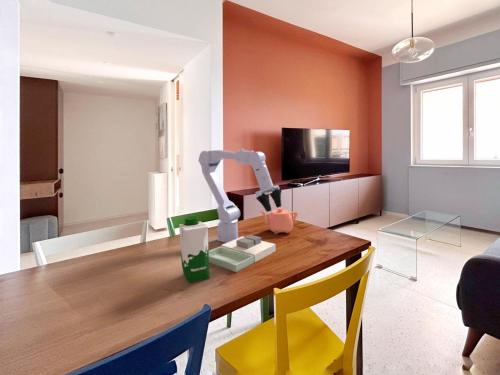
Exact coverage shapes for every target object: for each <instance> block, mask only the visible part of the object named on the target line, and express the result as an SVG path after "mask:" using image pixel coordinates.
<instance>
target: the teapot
mask: <svg viewBox="0 0 500 375" xmlns="http://www.w3.org/2000/svg"><path fill="white" fill-rule="evenodd" d="M259 212H261V213H262V216H263V222H264V224H265V225H267V227H268V229H269V231H271V232H273V235H278V234H279V233H285V234H290V232H292V230H293V228H294V222H295V220H296V219H297V217H298V214H299V213H298V212H297V211H289V210H287V209H284V208H282V207H278V208H277V209H273V210H272V209H271V211H270V214H269V216H268V218H267V213H266V211H264V210H259ZM291 215H293V217H292V216H291Z"/></svg>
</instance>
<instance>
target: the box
mask: <svg viewBox="0 0 500 375" xmlns="http://www.w3.org/2000/svg"><path fill="white" fill-rule="evenodd" d="M208 251H209V264H212V265H215V266H217V267H220V268H222V269H226V270H229V271H232V272H234V273H238V272H240V271H241V270H244V269H245V268H247V267H249V266H251V265H253V264H254V263H255V262H254V256H252V255H248V254H245V253H241V252H238V251H235V250H231V249H228V248H224V247H221V246H218V247H215V248H213V249H211V250H208Z"/></svg>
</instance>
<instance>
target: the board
mask: <svg viewBox="0 0 500 375" xmlns="http://www.w3.org/2000/svg"><path fill="white" fill-rule="evenodd" d="M244 237H245V236H240V237H238V239H235V240H233V241H230V242H228V243H225V242H224V243H223V244H221V247H224V248H228V249H231V250H235V251H238V252H241V253H245V254H248V255H252V256H254V263H256V262H258V261H260V260H262V259H264V258H266V257H268V256H269V255H271V254H273V253H275V252H276V250H277V249H276V243H272V242H268V241H263V240H261V243H260V244H257V245H254V246H253V247H251V248H249V249H246V248H242V247H238V246H237V244H236V240H239V239H241V238H244Z"/></svg>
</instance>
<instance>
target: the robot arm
mask: <svg viewBox="0 0 500 375" xmlns="http://www.w3.org/2000/svg"><path fill="white" fill-rule="evenodd" d="M198 156H199V157H198V159H197V160H198V162H199V165H200V168H201V171H202V172H201V173H202V175H203V177H204V180H205V181H206V183H207V185H208V187H209V189H210V191H211V193H212V195H213V197H214V199H215V201H216V203H217V205H218V207H217V209H216V211H217V214H218V220H219V223H218V224H217V239H216V241H218V242H223V243H224V244H225V243H228V242H230V241H233V240H235V239H238V238H239V229H238V221H239V219H240V217H241V210H240V209H239V208H238V207H237V206H236V205H235V203H234V202H233V201H231V200H229V198H228V195H227V193H226V192H225V190H224V188H223V185H222V184H221V181H220V179H219V177H218V175H217V174H216V170H217V169H218V166H219V164H220V162H221V161H223V160H224V159H228V160H235V162H236V163H238V164H244V165H250V166H251V167H252V169H253V172H254V176H255V178H256V180H257V184H258V186H259V190H257V191H255V192H254V193H255V196H256V198H255V199H256V200H257V201H258V202H259V203H260V204H261V206H263V208H264V210H265V212H271V211H272V206H271V203H270V197H271V198H272V200H273V202H274V205H275V207H276V208H277V209H278V208H282V189H281V188H280V186H279V185H278V184H277V185H274V184H273V181H272V178H271V175H270V172H269V169H268V167H267V164H266V160H267V156H266V154H265V153H264V152H263V151H260V150H259V151H254V150H253V149H250V150H245V148H240V149H238V150H237V151H229V150H224V149H216V150H215V149H213V150H203V151H201V152H200V154H199V155H198Z"/></svg>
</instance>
